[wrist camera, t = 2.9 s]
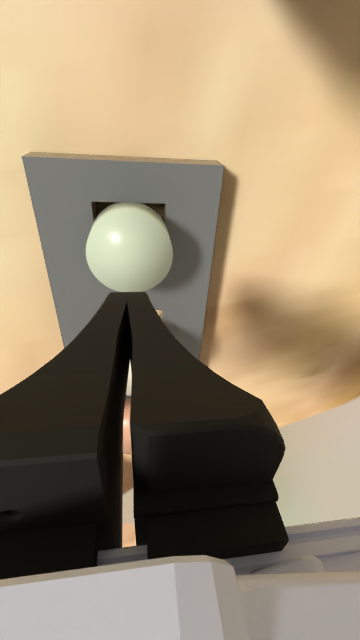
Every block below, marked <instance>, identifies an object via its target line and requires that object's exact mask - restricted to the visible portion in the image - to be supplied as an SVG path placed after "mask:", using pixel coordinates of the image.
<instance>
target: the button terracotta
mask: <svg viewBox="0 0 360 640" xmlns="http://www.w3.org/2000/svg"><path fill="white" fill-rule="evenodd" d="M130 407H131V396H129V395H126V399H125V408H124V420H123V453H124V454H132V450H131V435H130Z"/></svg>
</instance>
